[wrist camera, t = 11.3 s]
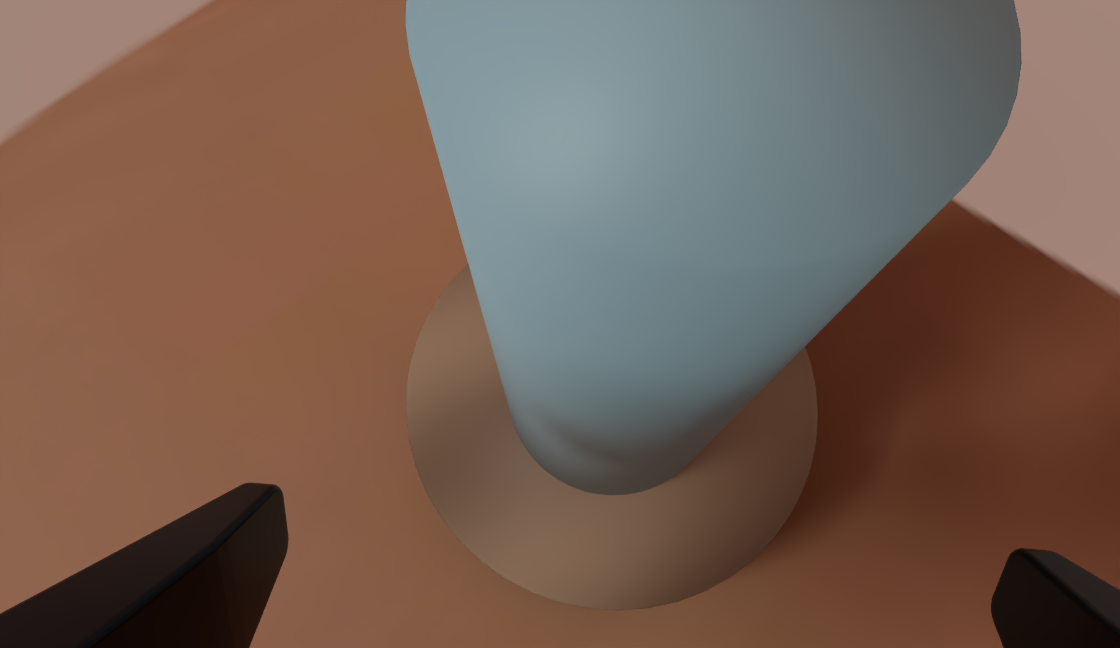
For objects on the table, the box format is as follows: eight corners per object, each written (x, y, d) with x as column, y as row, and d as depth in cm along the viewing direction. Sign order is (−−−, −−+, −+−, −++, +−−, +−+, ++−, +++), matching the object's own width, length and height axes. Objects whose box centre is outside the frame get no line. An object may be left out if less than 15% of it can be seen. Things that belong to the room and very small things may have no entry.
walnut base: (858, 480, 20) (905, 462, 18) (537, 688, 18) (532, 706, 16) (656, 204, 24) (669, 153, 21) (368, 354, 22) (339, 319, 19)
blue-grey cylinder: (732, 482, 17) (1124, 232, 5) (517, 507, 17) (416, 305, 5) (693, 287, 19) (912, -218, 7) (500, 307, 19) (398, -180, 7)
